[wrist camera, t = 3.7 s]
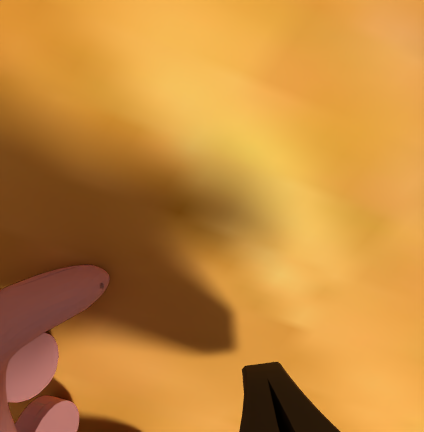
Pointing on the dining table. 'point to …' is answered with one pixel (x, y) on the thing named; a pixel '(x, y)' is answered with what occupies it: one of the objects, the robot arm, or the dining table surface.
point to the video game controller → (40, 343)
